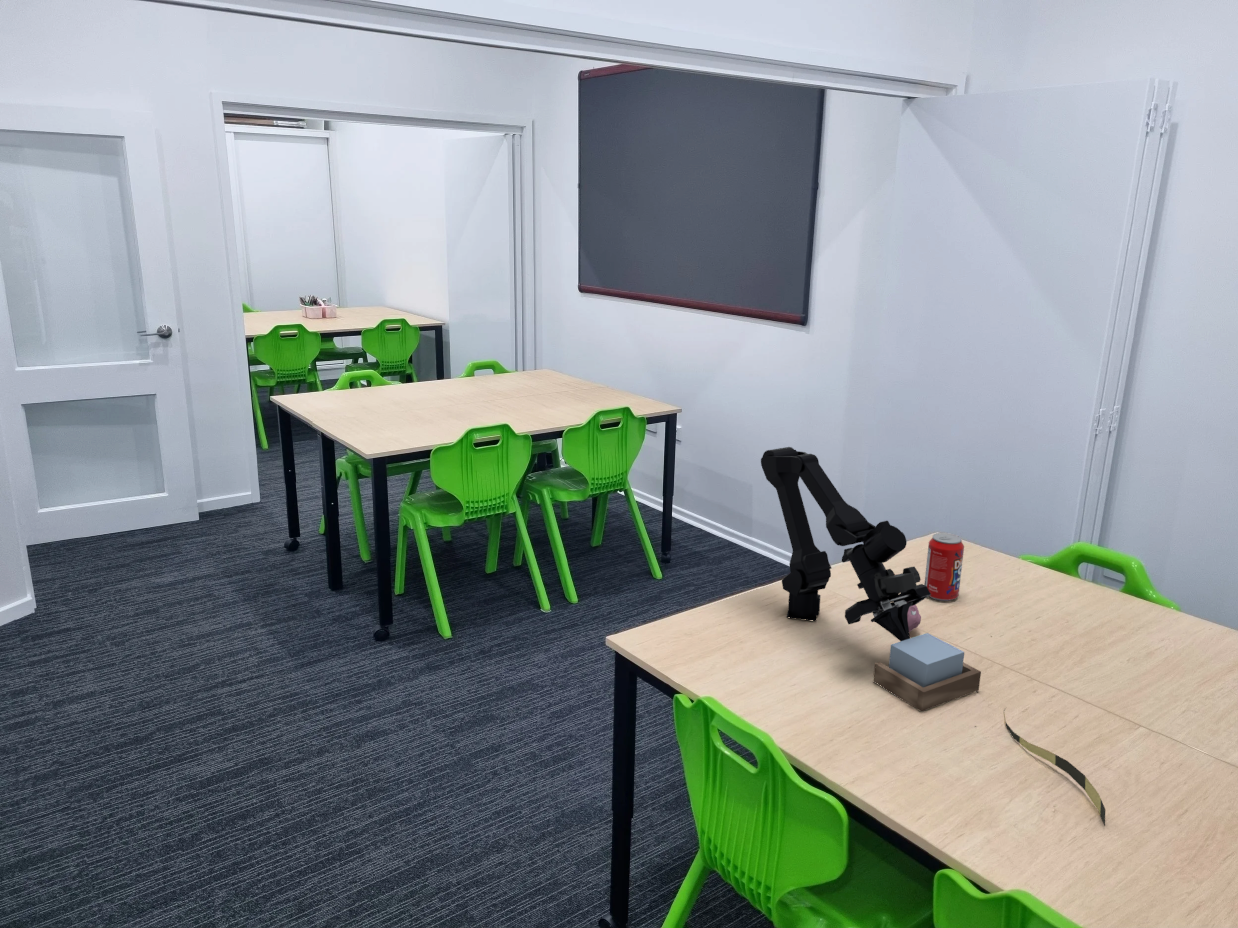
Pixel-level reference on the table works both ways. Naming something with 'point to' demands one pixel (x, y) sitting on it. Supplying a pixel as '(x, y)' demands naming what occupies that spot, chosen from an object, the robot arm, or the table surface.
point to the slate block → (926, 659)
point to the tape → (1066, 767)
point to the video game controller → (913, 617)
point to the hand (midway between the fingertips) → (907, 643)
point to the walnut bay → (931, 693)
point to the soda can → (944, 566)
